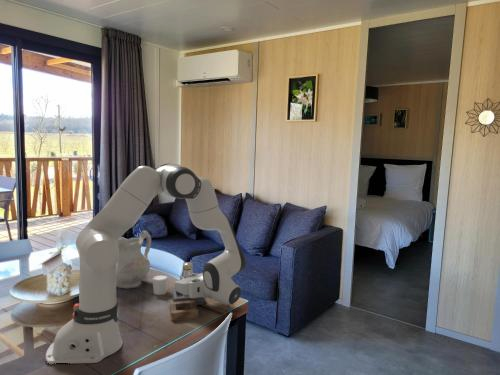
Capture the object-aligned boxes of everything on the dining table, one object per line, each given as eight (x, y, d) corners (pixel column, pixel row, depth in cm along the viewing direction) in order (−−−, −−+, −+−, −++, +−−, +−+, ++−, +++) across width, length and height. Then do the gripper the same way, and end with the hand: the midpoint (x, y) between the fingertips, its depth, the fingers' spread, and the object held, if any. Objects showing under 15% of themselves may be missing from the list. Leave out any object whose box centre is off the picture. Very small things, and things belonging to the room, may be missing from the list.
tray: (174, 307, 152) (174, 298, 152) (172, 295, 164) (172, 287, 163) (203, 304, 156) (203, 296, 155) (199, 293, 167) (199, 285, 167)
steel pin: (183, 297, 157) (183, 265, 155) (182, 293, 161) (182, 262, 159) (193, 296, 158) (193, 264, 157) (192, 292, 162) (192, 261, 160)
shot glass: (163, 296, 163) (163, 280, 162) (149, 294, 165) (149, 279, 164) (170, 290, 170) (170, 275, 169) (156, 288, 171) (156, 274, 170)
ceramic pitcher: (134, 275, 191) (130, 227, 189) (163, 279, 182) (159, 229, 180) (99, 289, 172) (94, 236, 170) (129, 295, 163) (125, 239, 161)
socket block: (171, 320, 140) (171, 313, 140) (169, 309, 150) (169, 302, 150) (197, 317, 143) (198, 310, 143) (194, 307, 153) (194, 300, 152)
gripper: (226, 271, 157) (204, 264, 167) (188, 284, 142) (166, 275, 151) (226, 285, 158) (204, 277, 167) (188, 299, 143) (166, 290, 152)
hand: (186, 276), depth 159 cm, fingers closed on steel pin, 4 cm apart
